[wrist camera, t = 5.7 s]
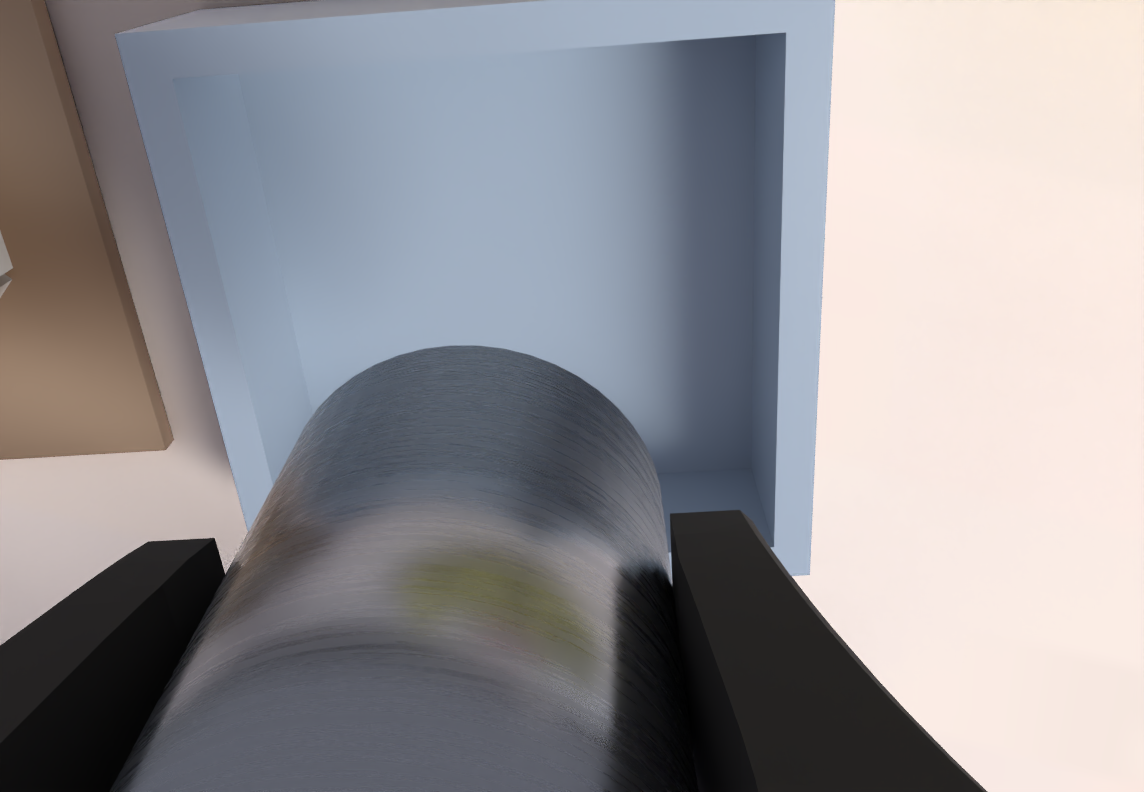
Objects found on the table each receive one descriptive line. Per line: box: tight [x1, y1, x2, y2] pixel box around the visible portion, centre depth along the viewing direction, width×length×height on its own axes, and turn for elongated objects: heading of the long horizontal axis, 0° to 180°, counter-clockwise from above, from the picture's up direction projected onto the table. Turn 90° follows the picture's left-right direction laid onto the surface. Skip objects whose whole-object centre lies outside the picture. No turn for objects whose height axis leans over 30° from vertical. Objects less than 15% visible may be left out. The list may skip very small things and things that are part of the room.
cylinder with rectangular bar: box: [110, 345, 699, 792], centre depth 7 cm, size 4×4×7 cm
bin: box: [115, 0, 835, 576], centre depth 16 cm, size 9×9×3 cm
